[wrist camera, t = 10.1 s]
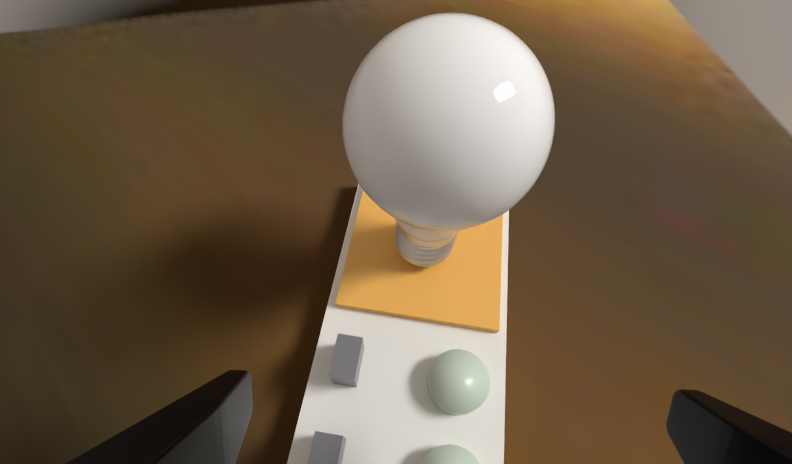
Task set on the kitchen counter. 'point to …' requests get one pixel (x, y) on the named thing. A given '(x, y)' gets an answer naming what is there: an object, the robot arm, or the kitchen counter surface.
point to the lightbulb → (447, 128)
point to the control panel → (409, 352)
